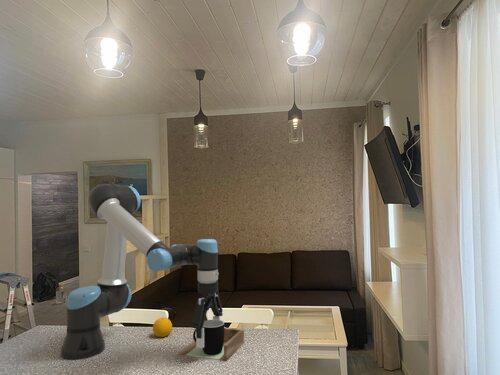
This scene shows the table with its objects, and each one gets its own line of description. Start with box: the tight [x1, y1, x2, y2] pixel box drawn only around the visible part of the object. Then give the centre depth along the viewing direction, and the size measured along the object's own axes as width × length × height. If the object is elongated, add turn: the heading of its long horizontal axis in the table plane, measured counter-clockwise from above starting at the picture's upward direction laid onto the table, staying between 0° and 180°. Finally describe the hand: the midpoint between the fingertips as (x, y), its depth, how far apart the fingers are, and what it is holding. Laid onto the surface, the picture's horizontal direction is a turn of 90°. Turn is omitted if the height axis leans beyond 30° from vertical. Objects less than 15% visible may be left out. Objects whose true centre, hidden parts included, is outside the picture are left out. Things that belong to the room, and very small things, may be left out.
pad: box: [186, 346, 224, 361], centre depth 127 cm, size 13×11×1 cm
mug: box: [192, 319, 226, 355], centre depth 127 cm, size 12×9×10 cm
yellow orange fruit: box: [152, 317, 173, 338], centre depth 148 cm, size 8×8×8 cm
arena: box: [176, 327, 245, 362], centre depth 130 cm, size 20×17×6 cm
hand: (208, 340), depth 127 cm, fingers open, 13 cm apart
